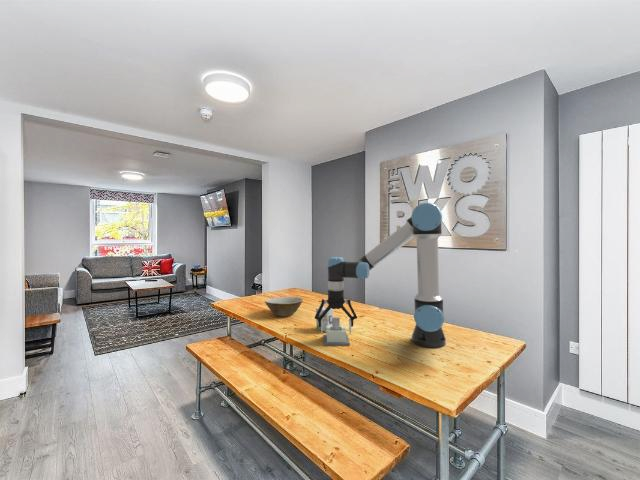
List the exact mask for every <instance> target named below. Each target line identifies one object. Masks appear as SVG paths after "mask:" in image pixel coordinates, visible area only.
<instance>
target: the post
mask: <svg viewBox="0 0 640 480" xmlns="http://www.w3.org/2000/svg"><path fill="white" fill-rule="evenodd" d="M340 319H341V318H340V317H338V316H335V317H334V316H333V318H332V330H340V326H341V325H340V324H341V323H340ZM322 335H323V336H322V337H323V347H330V346H331V347H334V346H335V347H336V346H337V347H340V346H343V347H345V346H351V344H350V340H349V336H348V334H347V333H346V342H327V334H322Z"/></svg>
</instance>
